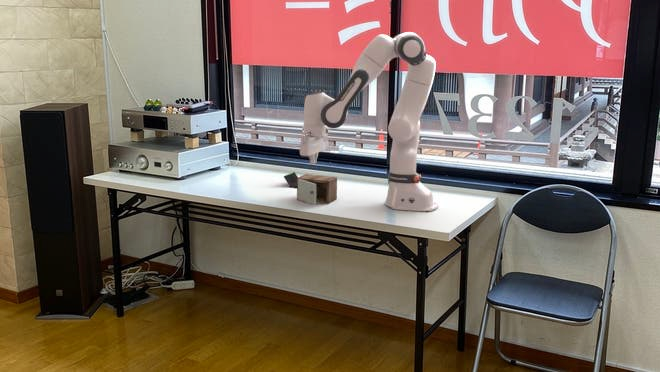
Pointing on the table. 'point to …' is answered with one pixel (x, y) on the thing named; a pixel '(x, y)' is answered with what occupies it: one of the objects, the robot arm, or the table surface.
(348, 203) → the table surface
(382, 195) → the table surface
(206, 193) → the table surface
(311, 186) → the cabinet door
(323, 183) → the walnut cabinet
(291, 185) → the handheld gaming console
